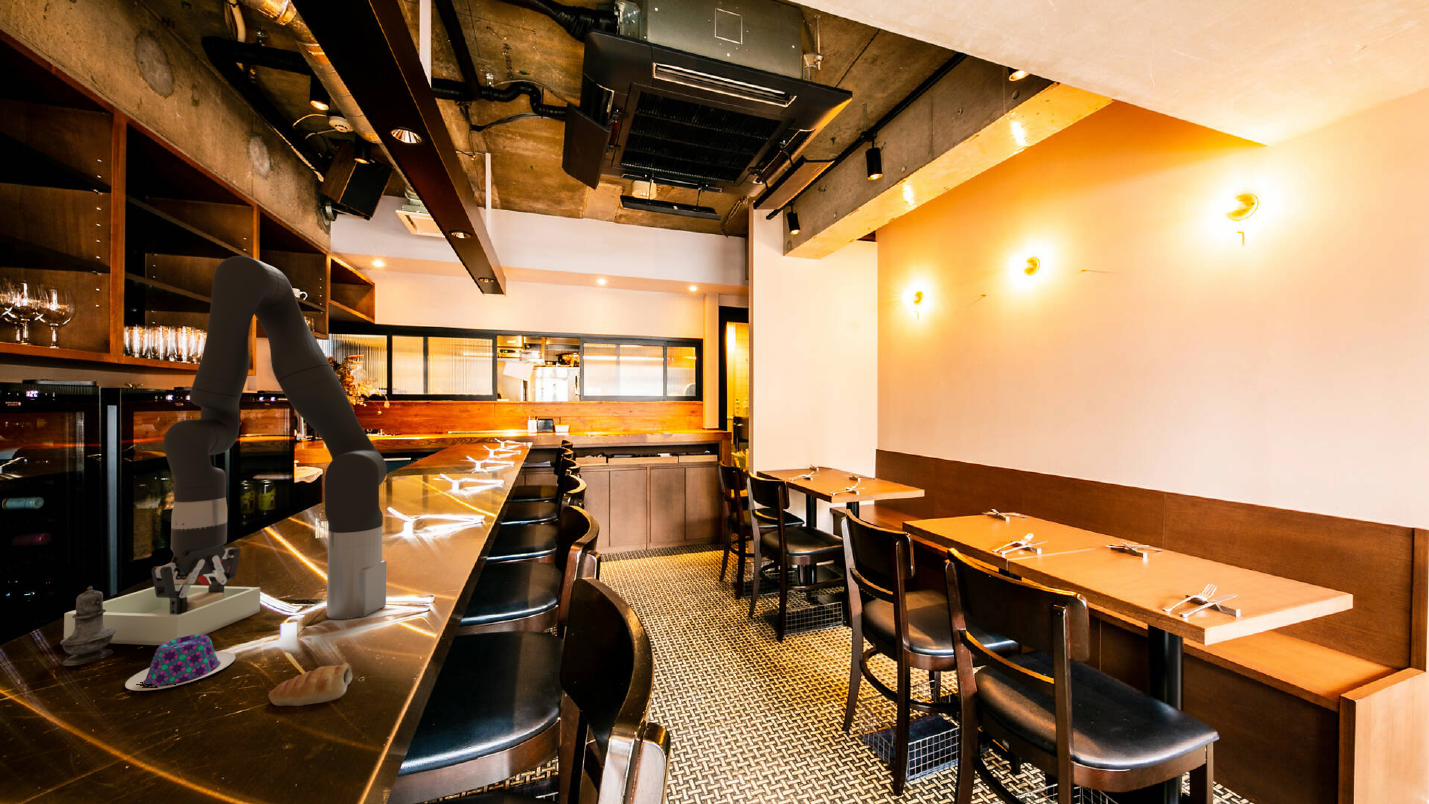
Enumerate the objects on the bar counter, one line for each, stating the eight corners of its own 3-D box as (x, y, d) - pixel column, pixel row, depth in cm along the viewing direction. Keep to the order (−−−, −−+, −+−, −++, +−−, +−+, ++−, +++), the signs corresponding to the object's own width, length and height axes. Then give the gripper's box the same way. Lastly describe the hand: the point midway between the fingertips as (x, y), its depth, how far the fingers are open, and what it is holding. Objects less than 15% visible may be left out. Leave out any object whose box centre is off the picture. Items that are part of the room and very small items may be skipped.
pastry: (260, 716, 68) (261, 688, 69) (278, 692, 75) (279, 666, 75) (343, 700, 72) (344, 674, 72) (354, 678, 79) (355, 653, 79)
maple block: (223, 618, 99) (223, 592, 99) (195, 629, 94) (195, 602, 94) (199, 617, 99) (200, 592, 99) (170, 628, 94) (171, 601, 94)
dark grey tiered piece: (75, 668, 81) (77, 593, 81) (49, 664, 82) (51, 590, 82) (124, 651, 86) (126, 581, 87) (99, 647, 87) (101, 578, 88)
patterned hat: (165, 661, 84) (166, 629, 84) (252, 652, 87) (252, 621, 87) (99, 701, 72) (100, 664, 72) (202, 689, 75) (203, 653, 75)
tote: (259, 611, 103) (260, 587, 103) (177, 645, 88) (177, 617, 88) (161, 608, 105) (162, 584, 105) (63, 641, 90) (64, 613, 90)
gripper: (175, 532, 89) (173, 627, 89) (254, 515, 103) (253, 597, 103) (136, 531, 90) (134, 626, 89) (221, 514, 104) (219, 596, 104)
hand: (197, 610), depth 96 cm, fingers open, 5 cm apart
